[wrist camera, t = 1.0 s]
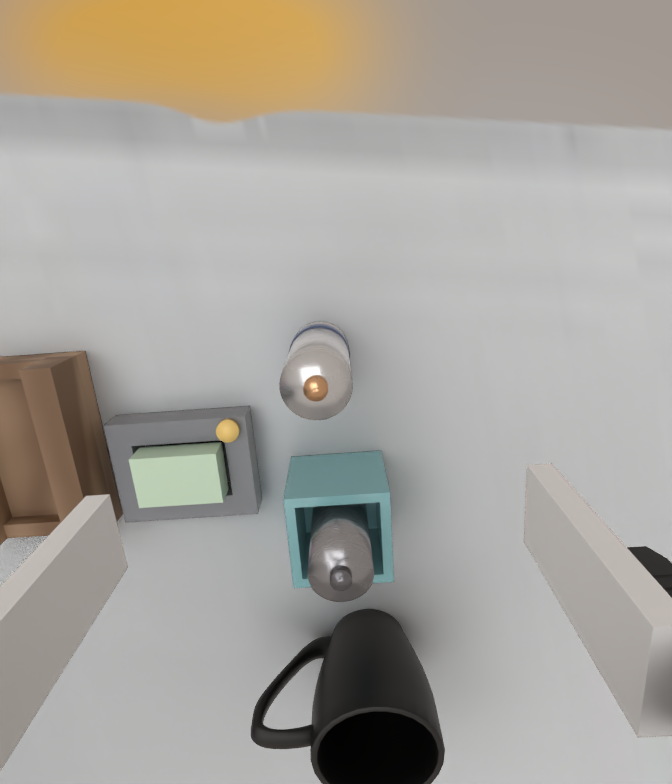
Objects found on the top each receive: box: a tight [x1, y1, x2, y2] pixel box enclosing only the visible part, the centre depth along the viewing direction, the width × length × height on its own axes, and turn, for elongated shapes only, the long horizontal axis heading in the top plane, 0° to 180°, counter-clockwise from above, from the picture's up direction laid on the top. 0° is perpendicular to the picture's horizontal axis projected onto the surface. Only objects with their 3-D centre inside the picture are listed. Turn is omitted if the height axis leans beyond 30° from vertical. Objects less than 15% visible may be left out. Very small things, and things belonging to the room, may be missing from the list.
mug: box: [251, 609, 445, 784], centre depth 35 cm, size 8×12×10 cm
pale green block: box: [129, 442, 229, 508], centre depth 32 cm, size 5×3×2 cm, turn 94°
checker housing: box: [103, 406, 262, 522], centre depth 34 cm, size 9×7×3 cm
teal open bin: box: [283, 451, 394, 588], centre depth 33 cm, size 6×6×6 cm
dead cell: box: [308, 503, 374, 602], centre depth 31 cm, size 4×4×9 cm
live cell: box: [280, 322, 352, 420], centre depth 28 cm, size 4×4×9 cm
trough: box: [0, 351, 122, 545], centre depth 32 cm, size 9×12×4 cm
